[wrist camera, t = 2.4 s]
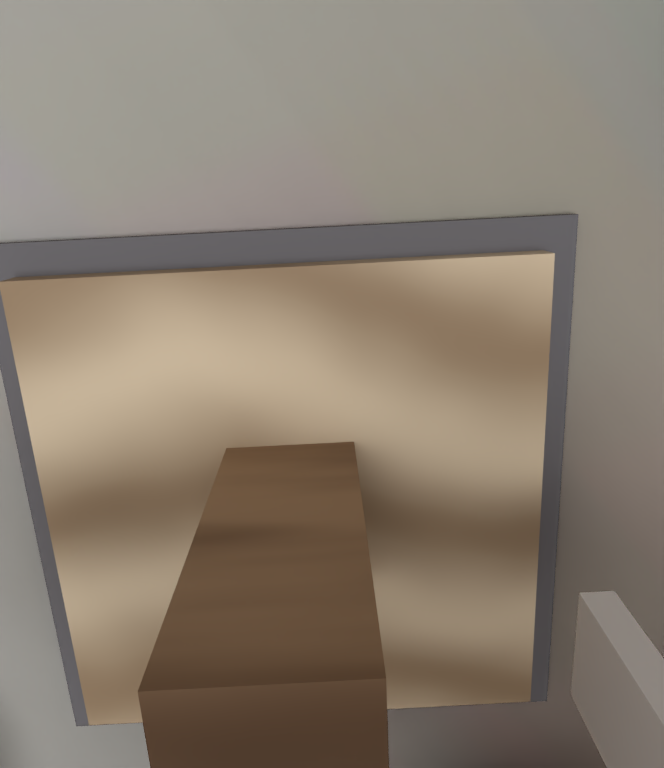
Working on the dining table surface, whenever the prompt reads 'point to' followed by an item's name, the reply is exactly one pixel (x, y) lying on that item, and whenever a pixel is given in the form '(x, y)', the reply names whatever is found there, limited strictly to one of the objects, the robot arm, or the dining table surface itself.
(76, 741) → the dining table surface
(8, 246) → the rubber mat
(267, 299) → the oak lid
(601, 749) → the robot arm
